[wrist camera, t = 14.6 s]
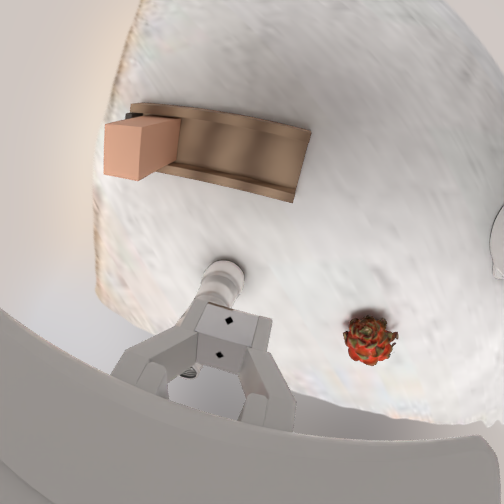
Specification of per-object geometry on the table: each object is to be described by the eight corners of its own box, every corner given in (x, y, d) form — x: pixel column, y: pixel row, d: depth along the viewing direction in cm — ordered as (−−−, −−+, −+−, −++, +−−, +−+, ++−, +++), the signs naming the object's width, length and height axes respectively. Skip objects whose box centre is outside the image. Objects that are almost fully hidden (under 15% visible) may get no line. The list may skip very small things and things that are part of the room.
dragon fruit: (351, 297, 46) (382, 327, 50) (322, 338, 45) (357, 362, 50) (385, 313, 38) (412, 342, 43) (353, 360, 37) (386, 382, 42)
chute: (310, 130, 33) (311, 134, 29) (293, 195, 38) (292, 206, 34) (142, 102, 34) (126, 104, 31) (136, 161, 39) (122, 168, 36)
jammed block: (181, 118, 33) (141, 127, 25) (176, 160, 37) (138, 181, 28) (149, 114, 34) (105, 124, 25) (145, 154, 37) (103, 174, 28)
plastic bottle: (255, 279, 46) (223, 382, 29) (223, 293, 49) (182, 389, 32) (231, 248, 44) (184, 346, 27) (200, 265, 46) (146, 357, 30)
